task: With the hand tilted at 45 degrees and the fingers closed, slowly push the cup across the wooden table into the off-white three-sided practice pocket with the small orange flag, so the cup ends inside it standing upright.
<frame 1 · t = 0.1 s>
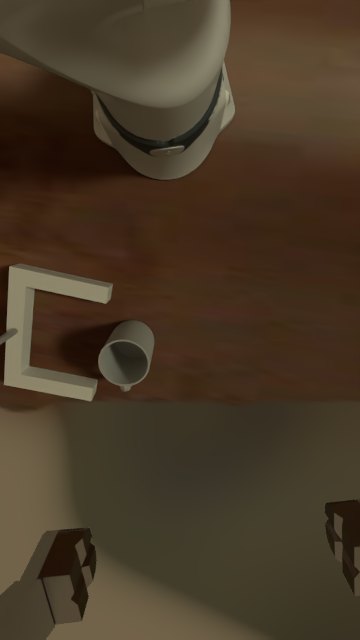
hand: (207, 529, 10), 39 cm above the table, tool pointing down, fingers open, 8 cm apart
cup: (133, 346, 50), on the table
practice pocket: (68, 333, 49), on the table
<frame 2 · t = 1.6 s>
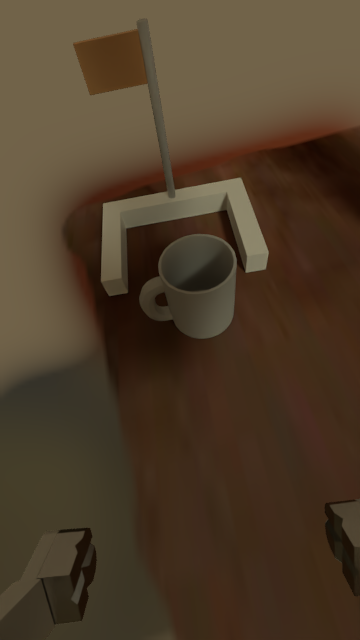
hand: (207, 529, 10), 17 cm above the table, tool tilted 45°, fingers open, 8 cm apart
cup: (191, 317, 35), on the table
practice pocket: (180, 248, 40), on the table
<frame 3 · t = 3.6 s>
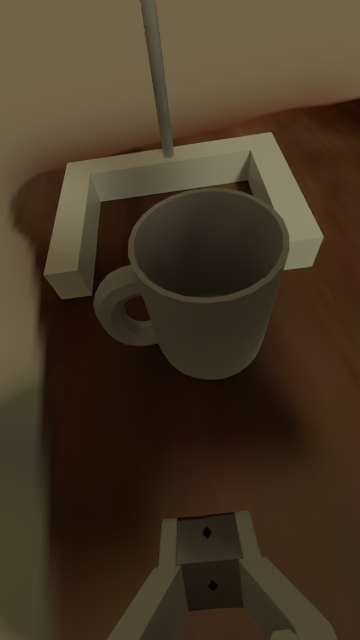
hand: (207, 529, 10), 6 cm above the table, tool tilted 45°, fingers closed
cup: (190, 339, 21), on the table
practice pocket: (178, 231, 27), on the table
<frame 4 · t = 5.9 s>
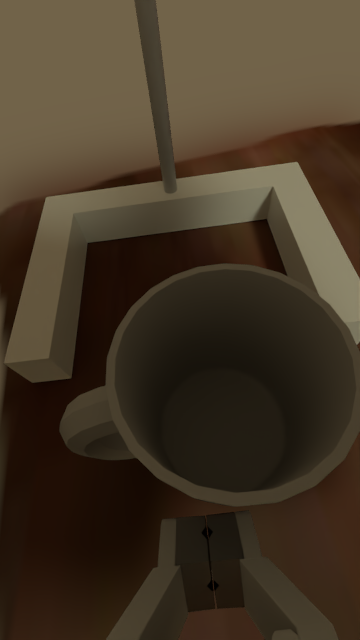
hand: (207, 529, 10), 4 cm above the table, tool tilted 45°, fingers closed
cup: (197, 433, 16), on the table, touching gripper
practice pocket: (182, 287, 21), on the table
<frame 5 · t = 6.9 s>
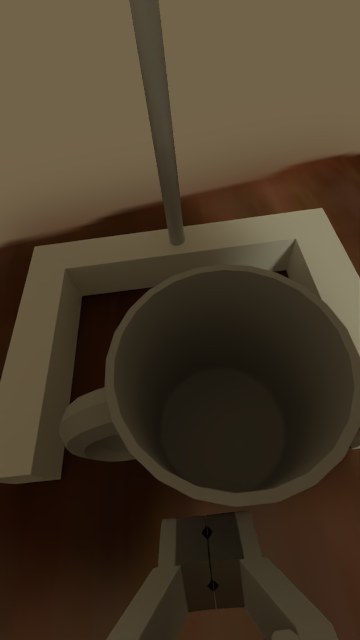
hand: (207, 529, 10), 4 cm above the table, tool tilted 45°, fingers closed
cup: (196, 434, 16), on the table, touching gripper
practice pocket: (191, 358, 18), on the table
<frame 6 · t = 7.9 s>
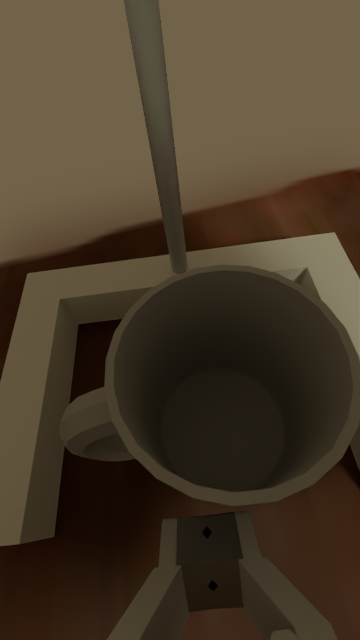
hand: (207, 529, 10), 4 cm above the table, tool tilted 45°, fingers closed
cup: (196, 434, 16), on the table, touching gripper
practice pocket: (195, 396, 17), on the table
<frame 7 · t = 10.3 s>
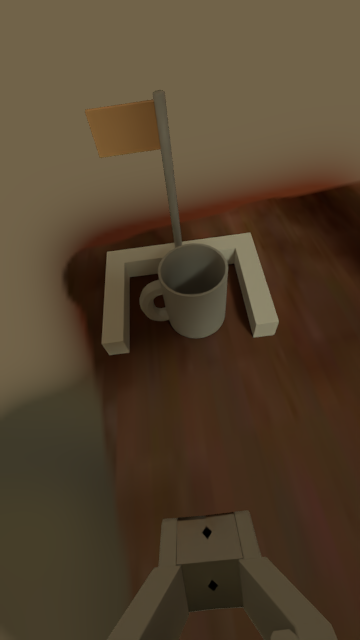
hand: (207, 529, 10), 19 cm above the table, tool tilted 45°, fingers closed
cup: (186, 318, 38), on the table
practice pocket: (185, 304, 39), on the table
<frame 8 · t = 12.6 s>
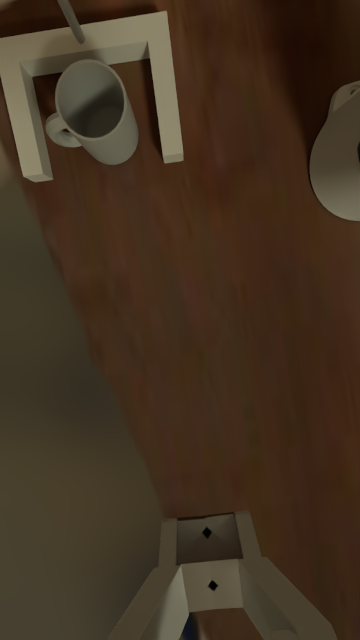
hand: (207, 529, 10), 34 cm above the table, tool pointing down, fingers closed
cup: (101, 139, 39), on the table
practice pocket: (99, 121, 38), on the table
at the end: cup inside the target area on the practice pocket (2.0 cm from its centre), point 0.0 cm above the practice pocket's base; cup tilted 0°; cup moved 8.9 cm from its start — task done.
